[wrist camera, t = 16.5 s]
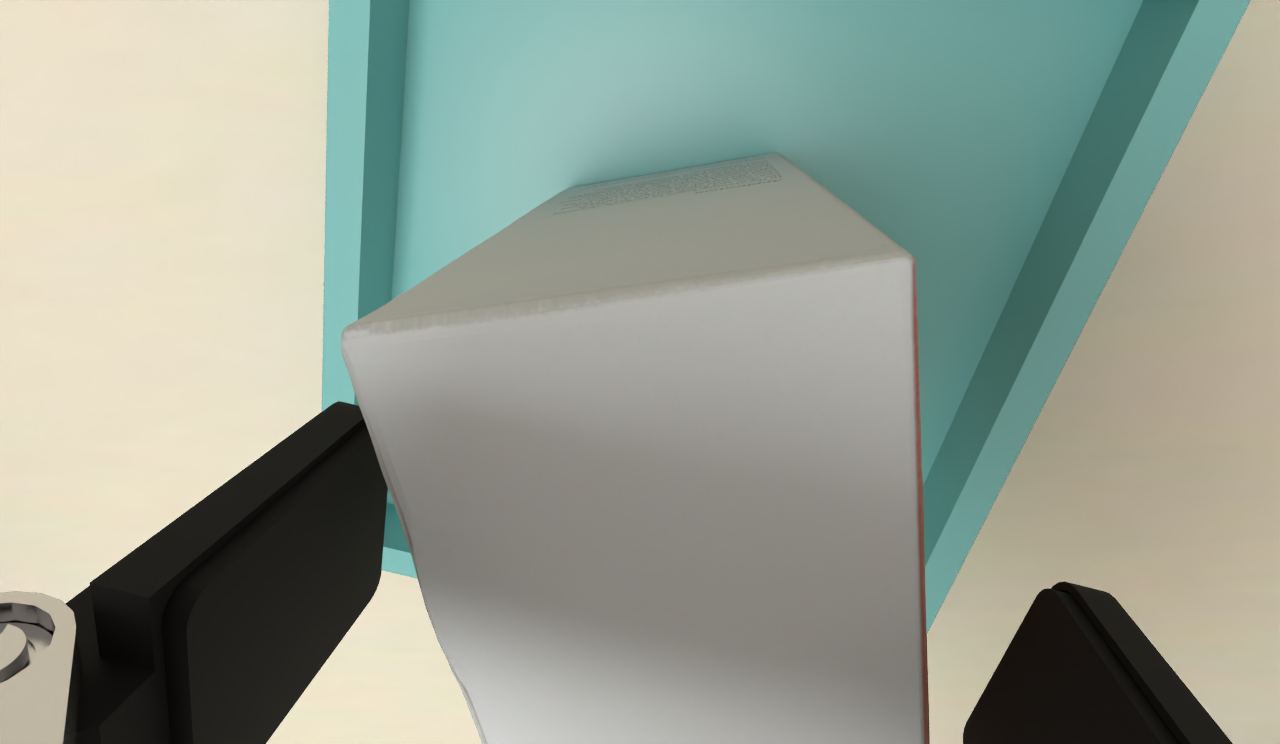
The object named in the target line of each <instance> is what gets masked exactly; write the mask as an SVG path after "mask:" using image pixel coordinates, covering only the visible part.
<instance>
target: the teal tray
mask: <svg viewBox="0 0 1280 744" xmlns="http://www.w3.org/2000/svg"><path fill="white" fill-rule="evenodd" d="M1249 2H1250V0H329V33H328V90H327V146H326V202H325V259H324V315H323V371H322V412H323V411H324V410H325V409H327V408H328V407H329V406H331V405H332V404H333V403H336V402H338V401H341V402H346V403H350V404H354V405H358V406H359V404H358V401H357V398H356V395H355V392H354V388H353V385H352V382H351V379H350V376H349V372H348V370H347V367H346V365H345V362H344V359H343V357H342V350H341V342H340V340H341V335H342V332H343V329H344V328H345V327H346V326H348V325H350V324H352V323H353V322H355V321H357V320H359V319H361V318H362V317H364V316H366V315H368V314H370V313H371V312H373V311H375V310H377V309H379V308H380V307H382V306H383V305H385V304H387V303H388V302H390V301H391V300H393V299H394V298H396V297H397V296H399V295H400V294H402V293H404V292H406V291H408V290H409V289H411V288H413V287H414V286H416V285H417V284H419V283H421V282H422V281H423V280H425V279H426V278H428V277H429V276H431V275H432V274H434V273H436V272H437V271H439V270H440V269H442V268H443V267H445V266H446V265H448V264H449V263H451V262H452V261H454V260H456V259H457V258H459V257H460V256H462V255H463V254H465V253H466V252H468V251H469V250H471V249H472V248H474V247H476V246H477V245H479V244H481V243H482V242H484V241H485V240H487V239H488V238H490V237H492V236H494V235H495V234H497V233H498V232H500V231H501V230H503V229H504V228H506V227H507V226H509V225H510V224H512V223H513V222H514V221H516V220H517V219H519V218H520V217H522V216H523V215H525V214H527V213H528V212H530V211H531V210H532V209H534V208H536V207H537V206H539V205H541V204H542V203H544V202H545V201H547V200H549V199H550V198H552V197H553V196H555V195H557V194H558V193H560V192H561V191H563V190H566V189H569V188H573V187H579V186H585V185H591V184H597V183H603V182H608V181H614V180H620V179H626V178H631V177H637V176H643V175H649V174H655V173H661V172H667V171H673V170H678V169H684V168H690V167H695V166H701V165H707V164H713V163H718V162H724V161H730V160H735V159H741V158H747V157H753V156H758V155H764V154H770V153H779V154H781V155H782V156H784V157H785V158H786V159H788V160H789V161H790V162H791V163H793V164H794V165H795V166H797V167H798V168H799V169H801V170H802V171H803V172H805V173H806V174H807V175H808V176H810V177H811V178H812V179H814V180H815V181H816V182H817V183H819V184H820V185H821V186H823V187H824V188H826V189H827V190H828V191H829V192H830V193H832V194H833V195H834V196H836V197H837V198H839V199H840V200H841V201H842V202H844V203H845V204H847V205H848V206H849V207H850V208H852V209H853V210H854V211H856V212H857V213H858V214H859V215H861V216H862V217H863V218H864V219H866V220H867V221H868V222H870V223H871V224H872V225H874V226H875V227H876V228H877V229H879V230H880V231H881V232H883V233H884V234H885V235H887V236H888V237H889V238H890V239H892V240H893V241H894V242H895V243H897V244H898V245H899V246H901V247H902V248H903V249H905V250H906V251H907V252H908V253H910V254H911V255H912V256H913V257H915V258H916V286H917V317H918V355H919V388H920V418H921V447H922V479H923V507H924V552H925V596H926V632H927V633H928V631H929V629H930V627H931V625H932V623H933V621H934V619H935V617H936V615H937V613H938V611H939V609H940V607H941V605H942V603H943V601H944V599H945V597H946V595H947V593H948V591H949V590H950V588H951V586H952V584H953V582H954V580H955V578H956V576H957V574H958V572H959V570H960V568H961V566H962V564H963V562H964V560H965V558H966V556H967V554H968V552H969V550H970V548H971V546H972V544H973V543H974V541H975V539H976V537H977V535H978V533H979V531H980V529H981V527H982V525H983V523H984V521H985V519H986V517H987V515H988V513H989V511H990V509H991V507H992V505H993V503H994V501H995V499H996V498H997V496H998V494H999V492H1000V490H1001V488H1002V486H1003V484H1004V482H1005V480H1006V478H1007V476H1008V474H1009V472H1010V470H1011V468H1012V466H1013V464H1014V462H1015V460H1016V458H1017V456H1018V454H1019V453H1020V451H1021V449H1022V447H1023V445H1024V443H1025V441H1026V439H1027V437H1028V435H1029V433H1030V431H1031V429H1032V427H1033V425H1034V423H1035V421H1036V419H1037V417H1038V415H1039V413H1040V411H1041V409H1042V407H1043V406H1044V404H1045V402H1046V400H1047V398H1048V396H1049V394H1050V392H1051V390H1052V388H1053V386H1054V384H1055V382H1056V380H1057V378H1058V376H1059V374H1060V372H1061V370H1062V368H1063V366H1064V364H1065V362H1066V361H1067V359H1068V357H1069V355H1070V353H1071V351H1072V349H1073V347H1074V345H1075V343H1076V341H1077V339H1078V337H1079V335H1080V333H1081V331H1082V329H1083V327H1084V325H1085V323H1086V321H1087V319H1088V317H1089V316H1090V314H1091V312H1092V310H1093V308H1094V306H1095V304H1096V302H1097V300H1098V298H1099V296H1100V294H1101V292H1102V290H1103V288H1104V286H1105V284H1106V282H1107V280H1108V278H1109V276H1110V274H1111V272H1112V270H1113V269H1114V267H1115V265H1116V263H1117V261H1118V259H1119V257H1120V255H1121V253H1122V251H1123V249H1124V247H1125V245H1126V243H1127V241H1128V239H1129V237H1130V235H1131V233H1132V231H1133V229H1134V227H1135V225H1136V224H1137V222H1138V220H1139V218H1140V216H1141V214H1142V212H1143V210H1144V208H1145V206H1146V204H1147V202H1148V200H1149V198H1150V196H1151V194H1152V192H1153V190H1154V188H1155V186H1156V184H1157V182H1158V180H1159V179H1160V177H1161V175H1162V173H1163V171H1164V169H1165V167H1166V165H1167V163H1168V161H1169V159H1170V157H1171V155H1172V153H1173V151H1174V149H1175V147H1176V145H1177V143H1178V141H1179V139H1180V137H1181V135H1182V133H1183V132H1184V130H1185V128H1186V126H1187V124H1188V122H1189V120H1190V118H1191V116H1192V114H1193V112H1194V110H1195V108H1196V106H1197V104H1198V102H1199V100H1200V98H1201V96H1202V94H1203V92H1204V90H1205V88H1206V87H1207V85H1208V83H1209V81H1210V79H1211V77H1212V75H1213V73H1214V71H1215V69H1216V67H1217V65H1218V63H1219V61H1220V59H1221V57H1222V55H1223V53H1224V51H1225V49H1226V47H1227V45H1228V43H1229V42H1230V40H1231V38H1232V36H1233V34H1234V32H1235V30H1236V28H1237V26H1238V24H1239V22H1240V20H1241V18H1242V16H1243V14H1244V12H1245V10H1246V8H1247V6H1248V4H1249ZM381 570H384V571H388V572H392V573H396V574H401V575H405V576H409V577H413V578H418V577H417V574H416V570H415V567H414V563H413V560H412V556H411V553H410V550H409V547H408V544H407V541H406V538H405V535H404V532H403V529H402V526H401V523H400V520H399V517H398V514H397V511H396V508H395V506H394V503H393V500H392V498H391V495H390V492H389V489H388V493H387V506H386V518H385V531H384V544H383V556H382V569H381Z"/></svg>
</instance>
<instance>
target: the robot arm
mask: <svg viewBox="0 0 1280 744" xmlns="http://www.w3.org/2000/svg"><path fill="white" fill-rule="evenodd" d="M387 493H388V487H387V484H386V481H385V479H384V476H383V473H382V471H381V468H380V464H379V461H378V458H377V455H376V452H375V449H374V446H373V443H372V440H371V437H370V434H369V431H368V428H367V426H366V423H365V420H364V418H363V415H362V412H361V410H360V407H359V406H358V405H354V404H350V403H346V402H341V401H338V402H336V403H333V404H332V405H331V406H329V407H328V408H327V409H325V410H324V411H323V412H321V413H320V414H318V415H317V416H316V417H314V418H313V419H312V420H310V421H309V422H308V423H306V424H305V425H303V426H302V427H301V428H299V429H298V430H297V431H295V432H294V433H293V434H291V435H290V436H289V437H287V438H286V439H284V440H283V441H282V442H280V443H279V444H278V445H276V446H275V447H274V448H272V449H271V450H270V451H268V452H267V453H265V454H264V455H263V456H261V457H260V458H259V459H257V460H256V461H255V462H253V463H252V464H251V465H249V466H248V467H246V468H245V469H244V470H242V471H241V472H240V473H238V474H237V475H236V476H234V477H233V478H232V479H230V480H229V481H227V482H226V483H225V484H223V485H222V486H221V487H219V488H218V489H217V490H215V491H214V492H212V493H211V494H210V495H208V496H207V497H206V498H204V499H203V500H202V501H200V502H199V503H198V504H196V505H195V506H193V507H192V508H191V509H189V510H188V511H187V512H185V513H184V514H183V515H181V516H180V517H179V518H177V519H176V520H174V521H173V522H172V523H170V524H169V525H168V526H166V527H165V528H164V529H162V530H161V531H160V532H158V533H157V534H155V535H154V536H153V537H151V538H150V539H149V540H147V541H146V542H145V543H143V544H142V545H140V546H139V547H138V548H136V549H135V550H134V551H132V552H131V553H130V554H128V555H127V556H126V557H124V558H123V559H121V560H120V561H119V562H117V563H116V564H115V565H113V566H112V567H111V568H109V569H108V570H107V571H105V572H104V573H102V574H101V575H100V576H98V577H97V578H96V579H94V580H93V581H92V582H90V586H89V587H87V588H86V589H85V590H83V591H82V592H81V593H79V594H78V595H77V596H75V597H74V598H73V599H71V600H70V601H69V602H67V603H66V604H65V603H64V602H63V601H62V600H59V599H56V598H54V597H51V596H48V595H45V594H42V593H31V592H18V591H14V592H4V593H0V744H266V742H267V741H268V740H269V738H270V737H271V736H272V734H273V733H274V732H275V730H276V729H277V727H278V726H279V725H280V723H281V722H282V721H283V719H284V718H285V716H286V715H287V714H288V712H289V711H290V710H291V708H292V707H293V706H294V704H295V703H296V701H297V700H298V699H299V697H300V696H301V695H302V693H303V692H304V690H305V689H306V688H307V686H308V685H309V684H310V682H311V681H312V680H313V678H314V677H315V675H316V674H317V673H318V671H319V670H320V669H321V667H322V666H323V664H324V663H325V662H326V660H327V659H328V658H329V656H330V655H331V654H332V652H333V651H334V649H335V648H336V647H337V645H338V644H339V643H340V641H341V640H342V638H343V637H344V636H345V634H346V633H347V632H348V630H349V629H350V628H351V626H352V625H353V623H354V622H355V621H356V619H357V618H358V617H359V615H360V614H361V612H362V611H363V610H364V608H365V607H366V606H367V604H368V603H369V602H370V600H371V599H372V597H373V595H374V593H375V591H376V589H377V586H378V584H379V580H380V577H381V569H382V556H383V544H384V531H385V518H386V506H387ZM963 744H1232V742H1231V741H1230V740H1229V739H1228V737H1227V736H1226V735H1225V734H1224V732H1223V731H1222V730H1221V729H1220V727H1219V726H1218V725H1217V724H1216V722H1215V721H1214V720H1213V719H1212V718H1211V716H1210V715H1209V714H1208V713H1207V711H1206V710H1205V709H1204V708H1203V706H1202V705H1201V704H1200V703H1199V701H1198V700H1197V699H1196V698H1195V697H1194V695H1193V694H1192V693H1191V692H1190V690H1189V689H1188V688H1187V687H1186V685H1185V684H1184V683H1183V682H1182V680H1181V679H1180V678H1179V677H1178V675H1177V674H1176V673H1175V672H1174V671H1173V669H1172V668H1171V667H1170V666H1169V664H1168V663H1167V662H1166V661H1165V659H1164V658H1163V657H1162V656H1161V654H1160V653H1159V652H1158V651H1157V650H1156V648H1155V647H1154V646H1153V645H1152V643H1151V642H1150V641H1149V640H1148V638H1147V637H1146V636H1145V635H1144V633H1143V632H1142V631H1141V630H1140V628H1139V627H1138V626H1137V625H1136V624H1135V622H1134V621H1133V620H1132V619H1131V617H1130V616H1129V615H1128V614H1127V612H1126V611H1125V610H1124V609H1123V607H1122V606H1121V605H1120V604H1119V603H1118V601H1117V600H1116V599H1115V598H1114V597H1113V596H1112V595H1111V594H1109V593H1107V592H1104V591H1100V590H1096V589H1092V588H1088V587H1084V586H1080V585H1076V584H1072V583H1068V582H1059V583H1057V584H1056V585H1054V586H1053V587H1052V588H1051V589H1044V590H1042V591H1041V592H1039V594H1038V595H1037V597H1036V598H1035V600H1034V602H1033V604H1032V605H1031V607H1030V609H1029V611H1028V613H1027V614H1026V616H1025V618H1024V620H1023V622H1022V623H1021V625H1020V627H1019V629H1018V631H1017V632H1016V634H1015V636H1014V638H1013V640H1012V641H1011V643H1010V645H1009V647H1008V649H1007V651H1006V652H1005V654H1004V656H1003V658H1002V660H1001V661H1000V663H999V665H998V667H997V669H996V670H995V672H994V674H993V676H992V678H991V679H990V681H989V683H988V685H987V687H986V688H985V690H984V692H983V694H982V696H981V697H980V699H979V701H978V703H977V705H976V706H975V708H974V710H973V712H972V714H971V715H970V717H969V719H968V721H967V723H966V725H965V728H964V733H963Z"/></svg>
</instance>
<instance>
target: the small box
mask: <svg viewBox="0 0 1280 744" xmlns="http://www.w3.org/2000/svg"><path fill="white" fill-rule="evenodd" d="M340 342H341V350H342V357H343V359H344V362H345V365H346V367H347V370H348V372H349V376H350V379H351V382H352V385H353V388H354V392H355V395H356V398H357V401H358V404H359V407H360V410H361V412H362V415H363V418H364V420H365V423H366V426H367V428H368V431H369V434H370V437H371V440H372V443H373V446H374V449H375V452H376V455H377V458H378V461H379V464H380V468H381V471H382V473H383V476H384V479H385V481H386V484H387V487H388V489H389V492H390V495H391V498H392V500H393V503H394V506H395V508H396V511H397V514H398V517H399V520H400V523H401V526H402V529H403V532H404V535H405V538H406V541H407V544H408V547H409V550H410V553H411V556H412V560H413V563H414V567H415V570H416V574H417V577H418V581H419V584H420V588H421V592H422V595H423V599H424V602H425V606H426V609H427V612H428V614H429V617H430V620H431V622H432V625H433V628H434V631H435V633H436V636H437V639H438V641H439V643H440V646H441V648H442V650H443V652H444V654H445V656H446V658H447V660H448V662H449V665H450V667H451V669H452V672H453V674H454V676H455V677H456V679H457V681H458V683H459V685H460V687H461V690H462V692H463V694H464V696H465V699H466V701H467V704H468V707H469V710H470V712H471V715H472V718H473V720H474V723H475V725H476V728H477V730H478V733H479V735H480V738H481V741H482V744H929V703H928V671H927V632H926V596H925V552H924V507H923V479H922V447H921V418H920V388H919V355H918V317H917V286H916V258H915V257H913V256H912V255H911V254H910V253H908V252H907V251H906V250H905V249H903V248H902V247H901V246H899V245H898V244H897V243H895V242H894V241H893V240H892V239H890V238H889V237H888V236H887V235H885V234H884V233H883V232H881V231H880V230H879V229H877V228H876V227H875V226H874V225H872V224H871V223H870V222H868V221H867V220H866V219H864V218H863V217H862V216H861V215H859V214H858V213H857V212H856V211H854V210H853V209H852V208H850V207H849V206H848V205H847V204H845V203H844V202H842V201H841V200H840V199H839V198H837V197H836V196H834V195H833V194H832V193H830V192H829V191H828V190H827V189H826V188H824V187H823V186H821V185H820V184H819V183H817V182H816V181H815V180H814V179H812V178H811V177H810V176H808V175H807V174H806V173H805V172H803V171H802V170H801V169H799V168H798V167H797V166H795V165H794V164H793V163H791V162H790V161H789V160H788V159H786V158H785V157H784V156H782V155H781V154H779V153H770V154H764V155H758V156H753V157H747V158H741V159H735V160H730V161H724V162H718V163H713V164H707V165H701V166H695V167H690V168H684V169H678V170H673V171H667V172H661V173H655V174H649V175H643V176H637V177H631V178H626V179H620V180H614V181H608V182H603V183H597V184H591V185H585V186H579V187H573V188H569V189H566V190H563V191H561V192H560V193H558V194H557V195H555V196H553V197H552V198H550V199H549V200H547V201H545V202H544V203H542V204H541V205H539V206H537V207H536V208H534V209H532V210H531V211H530V212H528V213H527V214H525V215H523V216H522V217H520V218H519V219H517V220H516V221H514V222H513V223H512V224H510V225H509V226H507V227H506V228H504V229H503V230H501V231H500V232H498V233H497V234H495V235H494V236H492V237H490V238H488V239H487V240H485V241H484V242H482V243H481V244H479V245H477V246H476V247H474V248H472V249H471V250H469V251H468V252H466V253H465V254H463V255H462V256H460V257H459V258H457V259H456V260H454V261H452V262H451V263H449V264H448V265H446V266H445V267H443V268H442V269H440V270H439V271H437V272H436V273H434V274H432V275H431V276H429V277H428V278H426V279H425V280H423V281H422V282H421V283H419V284H417V285H416V286H414V287H413V288H411V289H409V290H408V291H406V292H404V293H402V294H400V295H399V296H397V297H396V298H394V299H393V300H391V301H390V302H388V303H387V304H385V305H383V306H382V307H380V308H379V309H377V310H375V311H373V312H371V313H370V314H368V315H366V316H364V317H362V318H361V319H359V320H357V321H355V322H353V323H352V324H350V325H348V326H346V327H345V328H344V329H343V332H342V335H341V340H340Z"/></svg>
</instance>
